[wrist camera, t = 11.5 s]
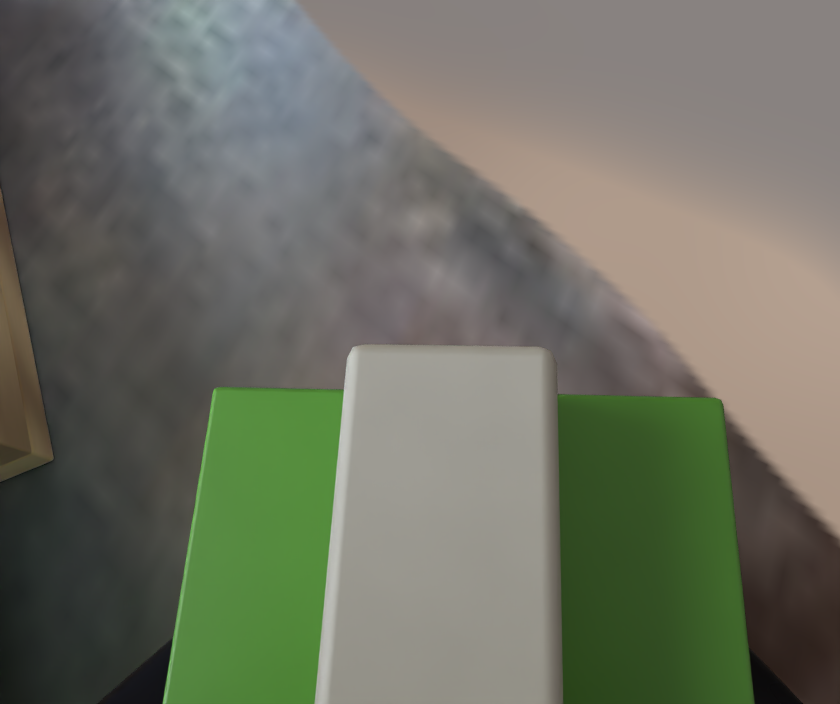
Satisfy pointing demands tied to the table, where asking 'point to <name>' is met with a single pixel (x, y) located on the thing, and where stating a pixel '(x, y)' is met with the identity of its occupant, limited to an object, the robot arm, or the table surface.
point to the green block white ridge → (460, 542)
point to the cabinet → (18, 375)
